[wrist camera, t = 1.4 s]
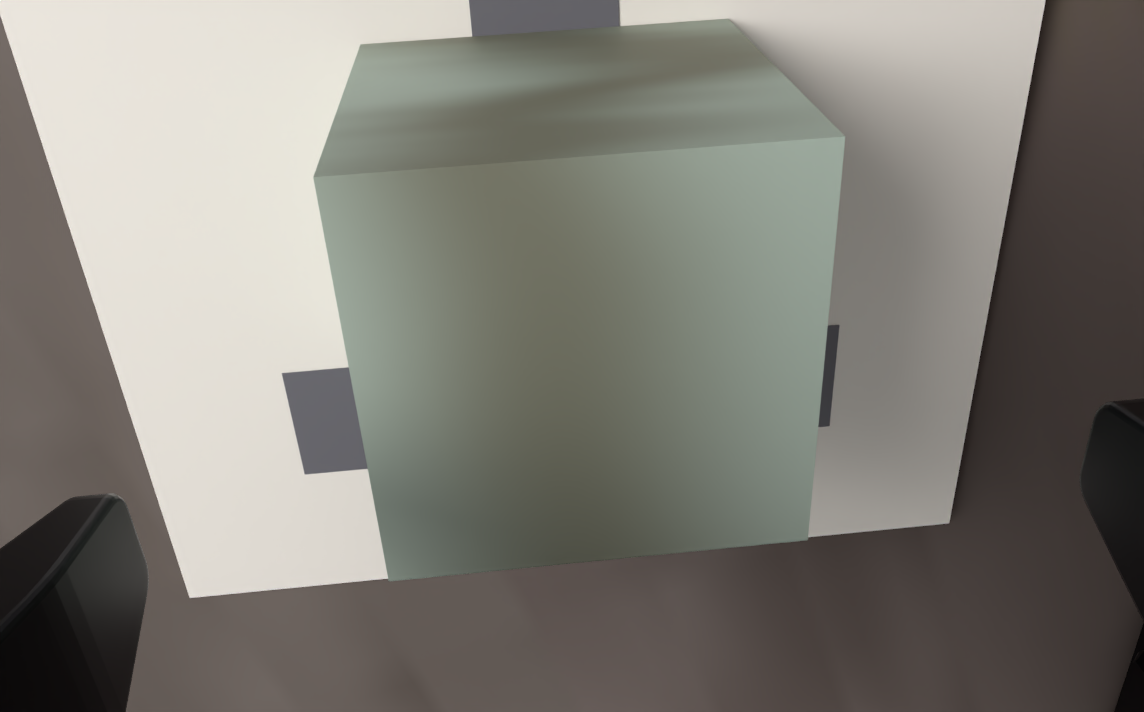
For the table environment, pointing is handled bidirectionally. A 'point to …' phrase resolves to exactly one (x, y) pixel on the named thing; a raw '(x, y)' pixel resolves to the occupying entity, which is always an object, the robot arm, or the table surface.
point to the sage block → (581, 292)
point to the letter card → (303, 277)
